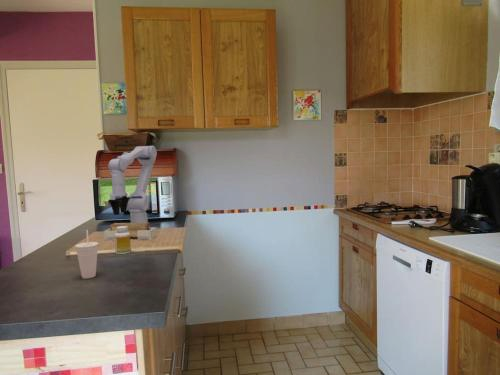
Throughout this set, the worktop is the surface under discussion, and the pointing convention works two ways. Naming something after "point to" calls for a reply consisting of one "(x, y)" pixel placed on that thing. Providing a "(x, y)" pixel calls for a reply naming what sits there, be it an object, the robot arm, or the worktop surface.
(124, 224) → the oak rail
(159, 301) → the worktop surface
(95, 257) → the smoothie
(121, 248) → the supplement bottle
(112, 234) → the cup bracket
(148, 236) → the cup bracket
